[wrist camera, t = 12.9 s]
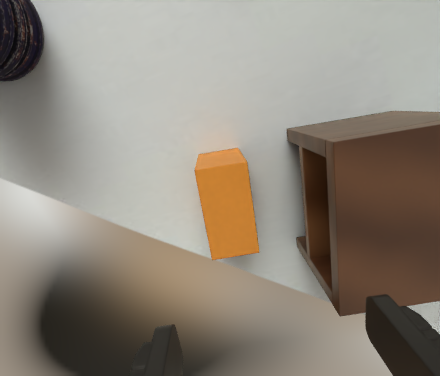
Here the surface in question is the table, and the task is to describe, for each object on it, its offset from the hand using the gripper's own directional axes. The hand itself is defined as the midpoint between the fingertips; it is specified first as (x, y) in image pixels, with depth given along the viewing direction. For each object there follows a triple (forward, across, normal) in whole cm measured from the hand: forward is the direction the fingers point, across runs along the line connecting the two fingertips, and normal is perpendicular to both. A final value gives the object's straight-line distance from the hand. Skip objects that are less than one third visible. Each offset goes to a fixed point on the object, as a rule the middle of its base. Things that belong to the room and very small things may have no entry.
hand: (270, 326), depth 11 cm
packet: (+22, +1, 0) cm, 22 cm away
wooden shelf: (+22, -13, +2) cm, 25 cm away
